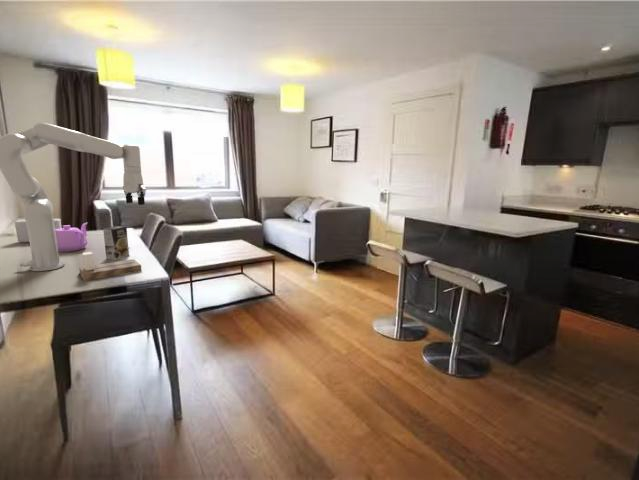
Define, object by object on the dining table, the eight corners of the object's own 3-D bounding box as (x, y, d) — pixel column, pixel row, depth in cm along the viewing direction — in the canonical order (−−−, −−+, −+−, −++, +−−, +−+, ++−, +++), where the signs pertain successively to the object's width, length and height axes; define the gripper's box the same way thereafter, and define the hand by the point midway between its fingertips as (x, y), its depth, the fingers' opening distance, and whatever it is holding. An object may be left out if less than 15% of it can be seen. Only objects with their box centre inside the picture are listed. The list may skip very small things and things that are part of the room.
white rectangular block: (86, 270, 142) (83, 254, 140) (84, 268, 145) (82, 252, 143) (94, 269, 144) (92, 253, 142) (92, 266, 147) (91, 251, 146)
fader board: (84, 280, 139) (83, 273, 138) (79, 273, 147) (79, 267, 147) (141, 271, 154) (140, 264, 153) (134, 265, 162) (133, 258, 161)
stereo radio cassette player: (17, 243, 195) (11, 210, 191) (22, 240, 203) (17, 208, 198) (61, 241, 204) (56, 209, 200) (64, 238, 211) (60, 207, 207)
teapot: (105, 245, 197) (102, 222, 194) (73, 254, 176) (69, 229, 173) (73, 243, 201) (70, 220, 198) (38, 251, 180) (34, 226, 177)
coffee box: (116, 260, 169) (113, 229, 165) (105, 259, 170) (102, 228, 166) (129, 255, 177) (127, 226, 174) (119, 254, 179) (116, 225, 175)
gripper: (114, 169, 167) (118, 203, 171) (136, 170, 159) (139, 205, 163) (129, 169, 173) (132, 202, 177) (150, 170, 165) (153, 204, 169)
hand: (135, 203), depth 170 cm, fingers open, 9 cm apart
